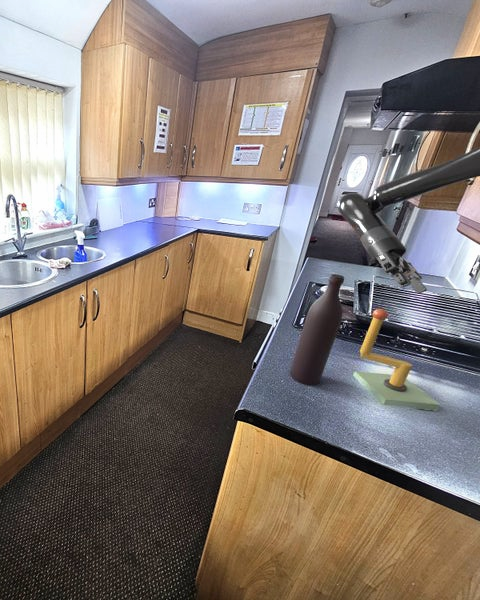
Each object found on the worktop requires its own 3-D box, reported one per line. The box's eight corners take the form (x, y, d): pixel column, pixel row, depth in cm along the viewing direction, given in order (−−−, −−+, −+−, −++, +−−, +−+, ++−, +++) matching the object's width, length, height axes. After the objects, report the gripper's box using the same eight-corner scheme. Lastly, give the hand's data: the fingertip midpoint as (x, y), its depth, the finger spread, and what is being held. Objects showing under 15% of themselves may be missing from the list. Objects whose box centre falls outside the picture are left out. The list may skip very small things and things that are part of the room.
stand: (399, 381, 90) (403, 372, 89) (437, 411, 79) (442, 402, 78) (352, 377, 91) (355, 368, 90) (382, 405, 80) (386, 396, 79)
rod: (401, 383, 84) (433, 318, 77) (403, 388, 82) (435, 322, 75) (350, 368, 90) (374, 306, 83) (350, 372, 88) (375, 309, 81)
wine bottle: (325, 385, 87) (364, 280, 75) (300, 387, 87) (335, 281, 75) (306, 369, 94) (339, 270, 82) (283, 371, 93) (312, 271, 81)
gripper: (382, 229, 92) (417, 275, 84) (408, 242, 98) (444, 286, 89) (354, 246, 98) (384, 291, 89) (381, 257, 103) (411, 300, 95)
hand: (414, 288), depth 89 cm, fingers open, 8 cm apart
